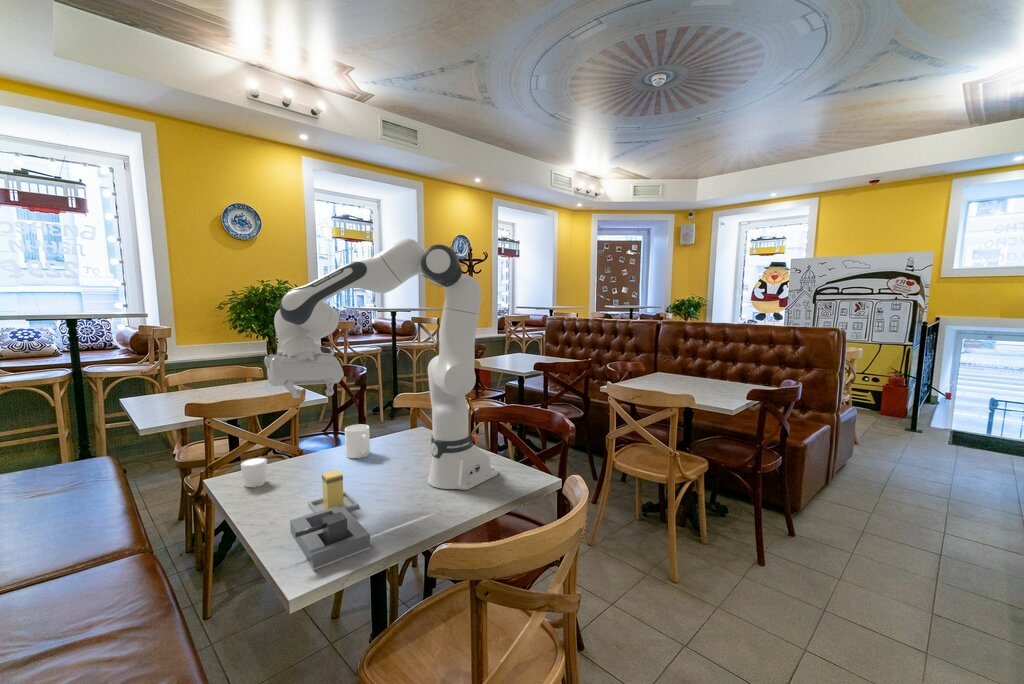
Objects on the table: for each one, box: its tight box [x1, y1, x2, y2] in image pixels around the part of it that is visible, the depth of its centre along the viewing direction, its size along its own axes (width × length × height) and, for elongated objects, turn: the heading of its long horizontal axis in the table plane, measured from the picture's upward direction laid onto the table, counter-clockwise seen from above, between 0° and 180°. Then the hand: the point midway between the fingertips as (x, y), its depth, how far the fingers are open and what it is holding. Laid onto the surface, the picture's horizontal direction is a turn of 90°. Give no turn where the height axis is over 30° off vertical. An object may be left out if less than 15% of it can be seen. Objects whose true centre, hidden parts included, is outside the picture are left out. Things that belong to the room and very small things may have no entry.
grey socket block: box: [289, 505, 371, 571], centre depth 96 cm, size 14×18×8 cm
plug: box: [321, 469, 344, 509], centre depth 112 cm, size 4×4×9 cm
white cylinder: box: [240, 457, 268, 488], centre depth 127 cm, size 7×7×7 cm
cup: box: [344, 423, 371, 459], centre depth 150 cm, size 8×12×10 cm
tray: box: [307, 490, 360, 513], centre depth 112 cm, size 10×10×1 cm
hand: (314, 395), depth 116 cm, fingers open, 8 cm apart
